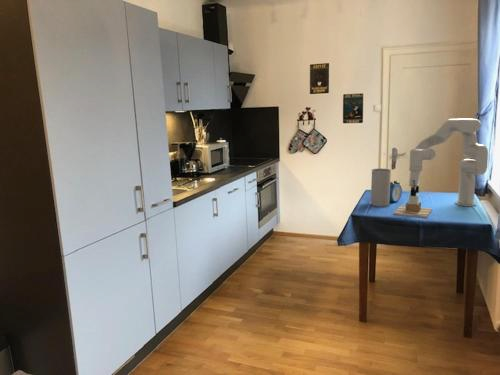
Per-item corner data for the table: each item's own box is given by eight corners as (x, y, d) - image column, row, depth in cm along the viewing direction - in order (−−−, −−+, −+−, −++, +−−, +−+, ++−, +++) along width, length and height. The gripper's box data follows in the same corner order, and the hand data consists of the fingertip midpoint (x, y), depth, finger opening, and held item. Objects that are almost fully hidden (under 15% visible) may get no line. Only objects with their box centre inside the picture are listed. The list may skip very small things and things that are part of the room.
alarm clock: (391, 203, 290) (392, 183, 287) (383, 202, 295) (384, 182, 292) (401, 200, 298) (402, 180, 294) (394, 199, 302) (395, 179, 299)
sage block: (410, 201, 270) (410, 194, 269) (418, 202, 267) (418, 194, 266) (408, 203, 266) (409, 195, 265) (417, 203, 263) (417, 196, 262)
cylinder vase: (384, 208, 280) (385, 172, 275) (367, 205, 288) (368, 170, 283) (392, 204, 289) (393, 169, 283) (375, 201, 297) (377, 167, 292)
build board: (400, 206, 281) (400, 197, 280) (431, 210, 271) (432, 200, 270) (393, 214, 265) (394, 204, 263) (426, 217, 254) (427, 207, 253)
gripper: (412, 165, 271) (411, 190, 274) (406, 170, 256) (405, 196, 260) (424, 166, 267) (422, 191, 271) (419, 171, 253) (418, 197, 256)
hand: (414, 194), depth 265 cm, fingers open, 9 cm apart
